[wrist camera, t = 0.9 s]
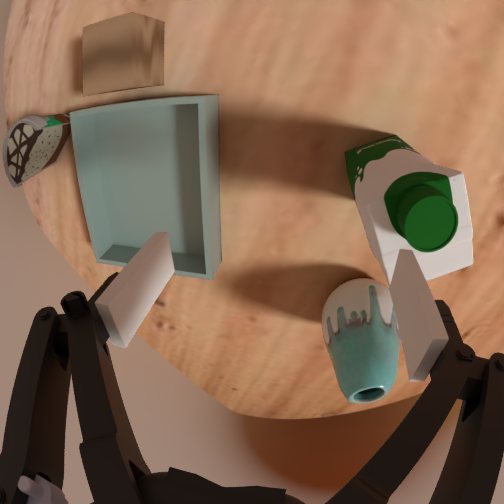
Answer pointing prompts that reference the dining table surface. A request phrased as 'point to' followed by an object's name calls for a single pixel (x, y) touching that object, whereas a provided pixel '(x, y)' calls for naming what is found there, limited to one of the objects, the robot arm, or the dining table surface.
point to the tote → (152, 179)
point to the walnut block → (122, 54)
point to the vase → (362, 339)
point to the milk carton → (411, 207)
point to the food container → (34, 145)
